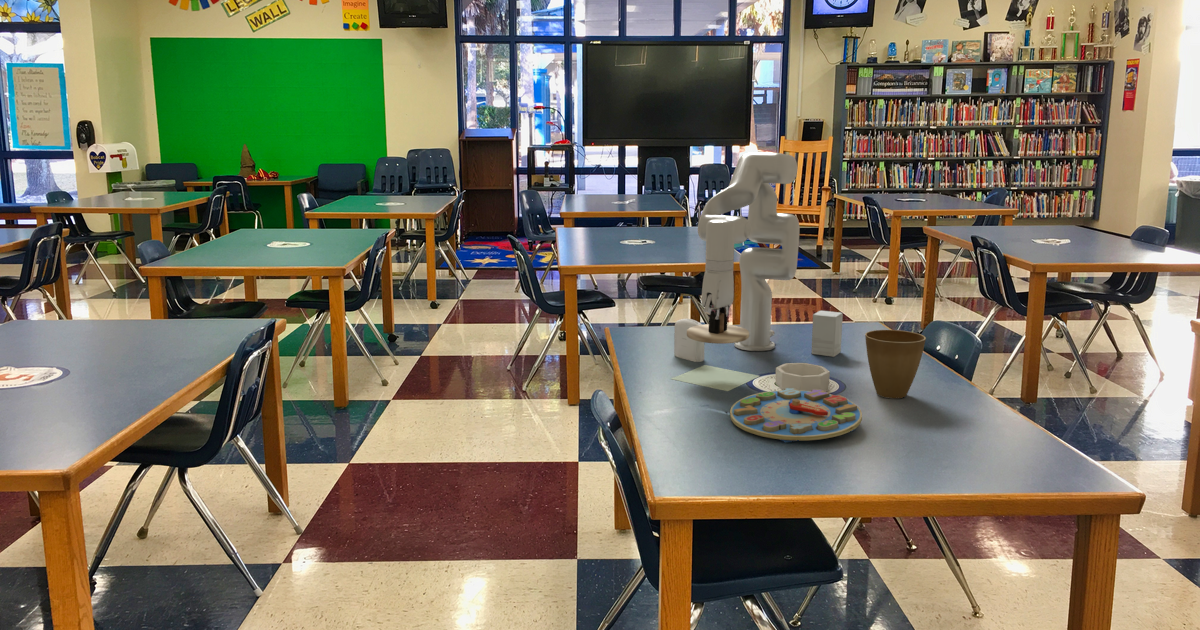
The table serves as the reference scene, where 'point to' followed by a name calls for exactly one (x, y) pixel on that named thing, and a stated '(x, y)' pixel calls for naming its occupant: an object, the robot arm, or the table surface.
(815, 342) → the supplement box
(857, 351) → the table surface
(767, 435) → the shape sorting clock
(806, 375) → the bowl
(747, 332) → the lid
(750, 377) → the mat
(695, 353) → the photo printer
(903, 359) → the plant pot
